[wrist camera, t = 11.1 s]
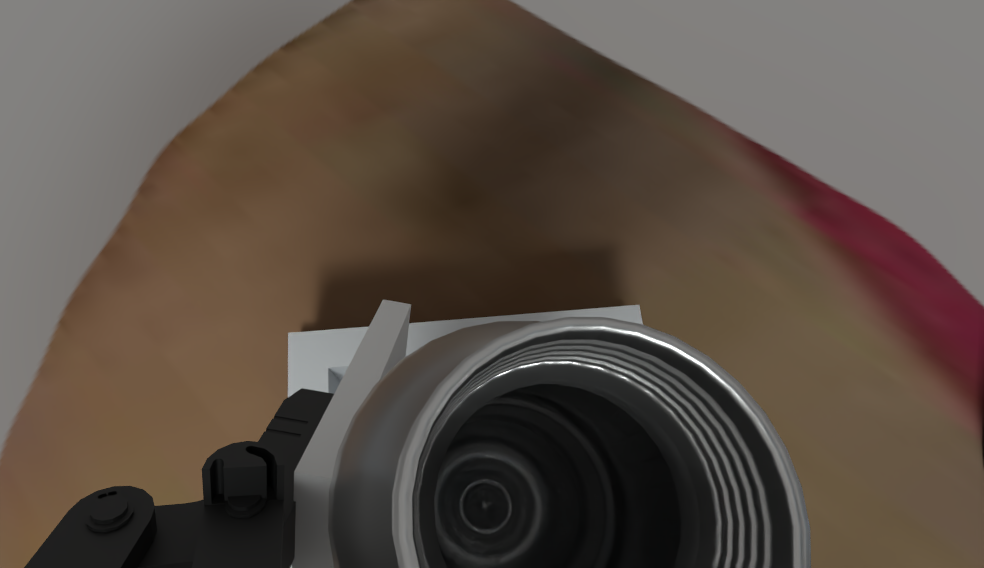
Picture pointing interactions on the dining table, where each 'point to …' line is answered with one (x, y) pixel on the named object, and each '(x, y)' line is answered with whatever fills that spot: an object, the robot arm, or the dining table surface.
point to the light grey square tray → (329, 352)
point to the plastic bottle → (563, 457)
